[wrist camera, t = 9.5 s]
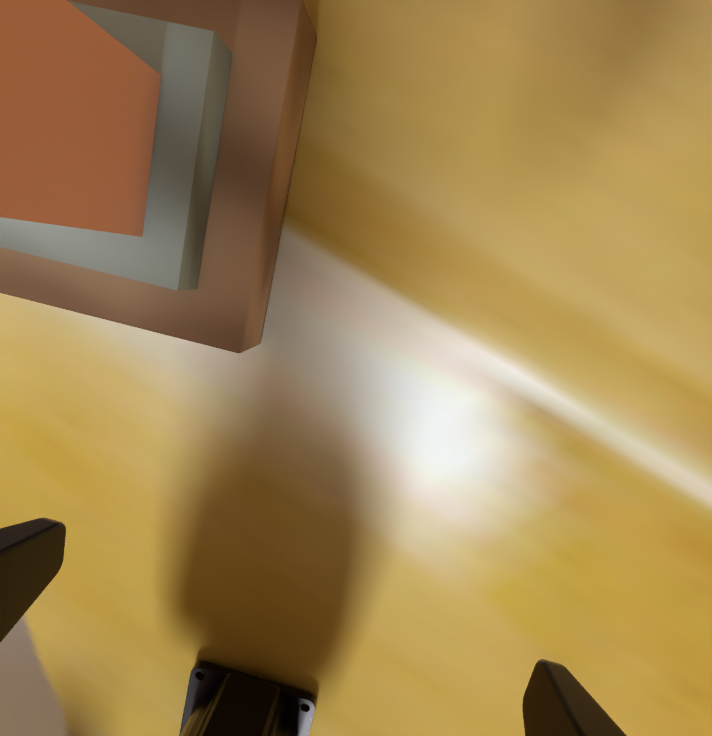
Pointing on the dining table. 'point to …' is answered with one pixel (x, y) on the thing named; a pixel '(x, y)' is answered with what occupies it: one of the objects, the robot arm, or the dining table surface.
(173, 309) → the plinth
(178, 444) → the dining table surface
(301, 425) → the dining table surface
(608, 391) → the dining table surface
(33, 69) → the terracotta brick
